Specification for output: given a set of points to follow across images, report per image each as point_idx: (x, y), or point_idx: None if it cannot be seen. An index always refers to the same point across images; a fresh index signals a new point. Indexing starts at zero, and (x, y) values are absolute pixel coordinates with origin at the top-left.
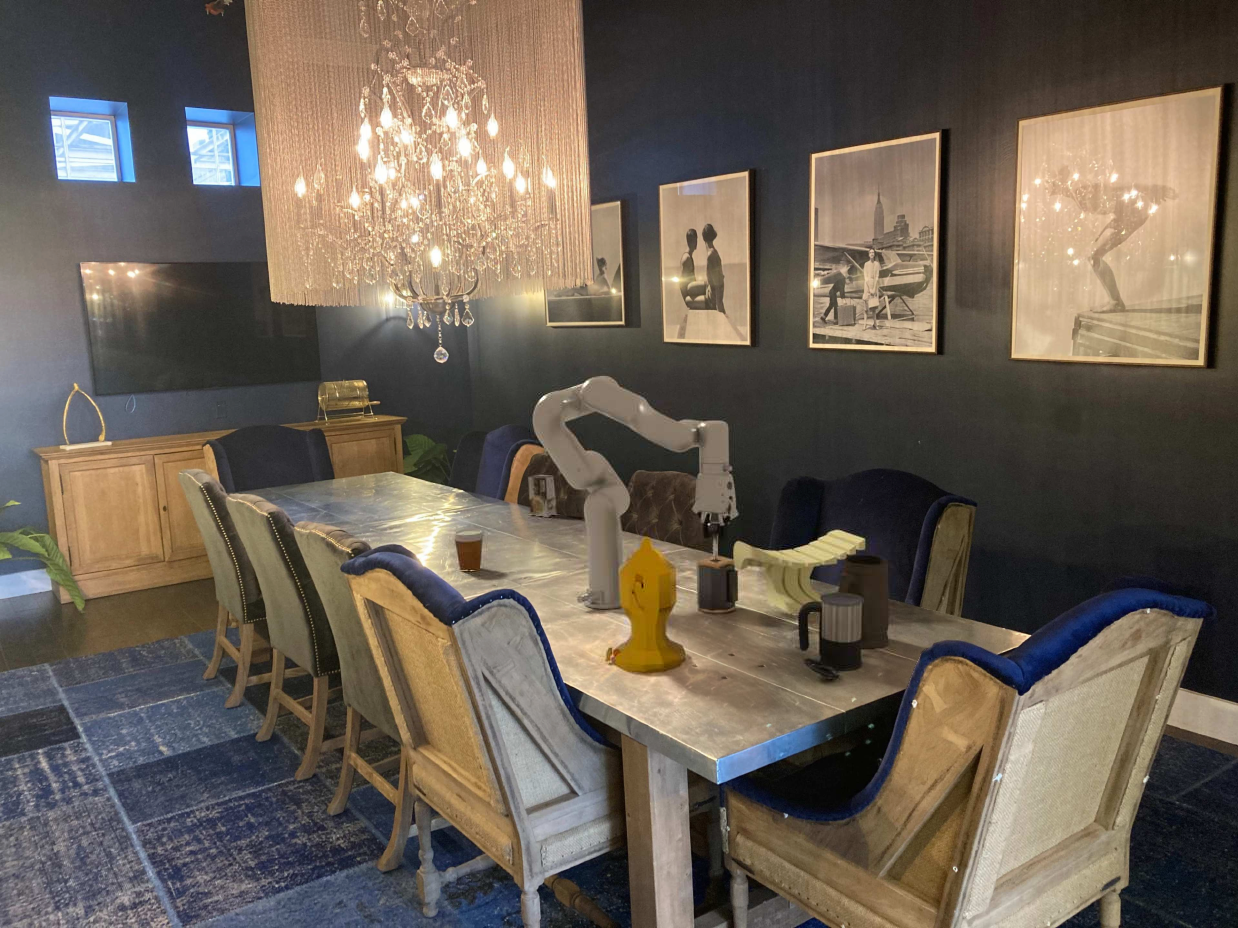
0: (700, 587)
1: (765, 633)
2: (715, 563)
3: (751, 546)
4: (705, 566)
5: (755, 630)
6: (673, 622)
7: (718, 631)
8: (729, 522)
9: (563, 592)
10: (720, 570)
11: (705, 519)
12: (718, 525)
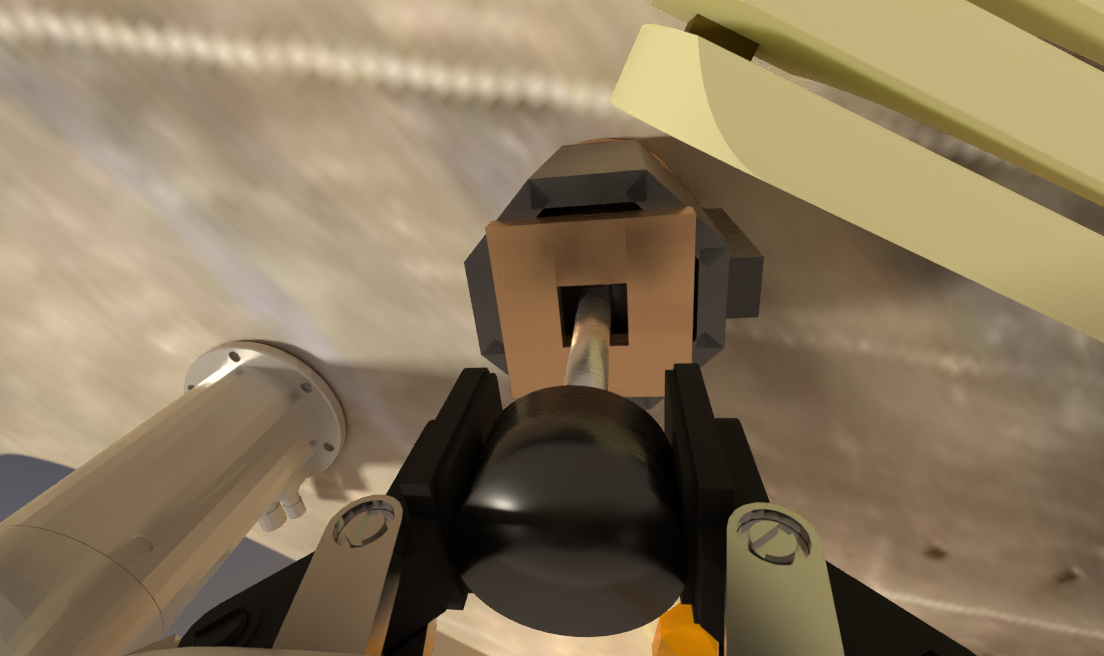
0: None
1: (964, 354)
2: (646, 376)
3: (1036, 310)
4: None
5: (908, 348)
6: None
7: (782, 427)
8: (813, 529)
9: (88, 406)
10: None
11: (427, 640)
12: (672, 592)
